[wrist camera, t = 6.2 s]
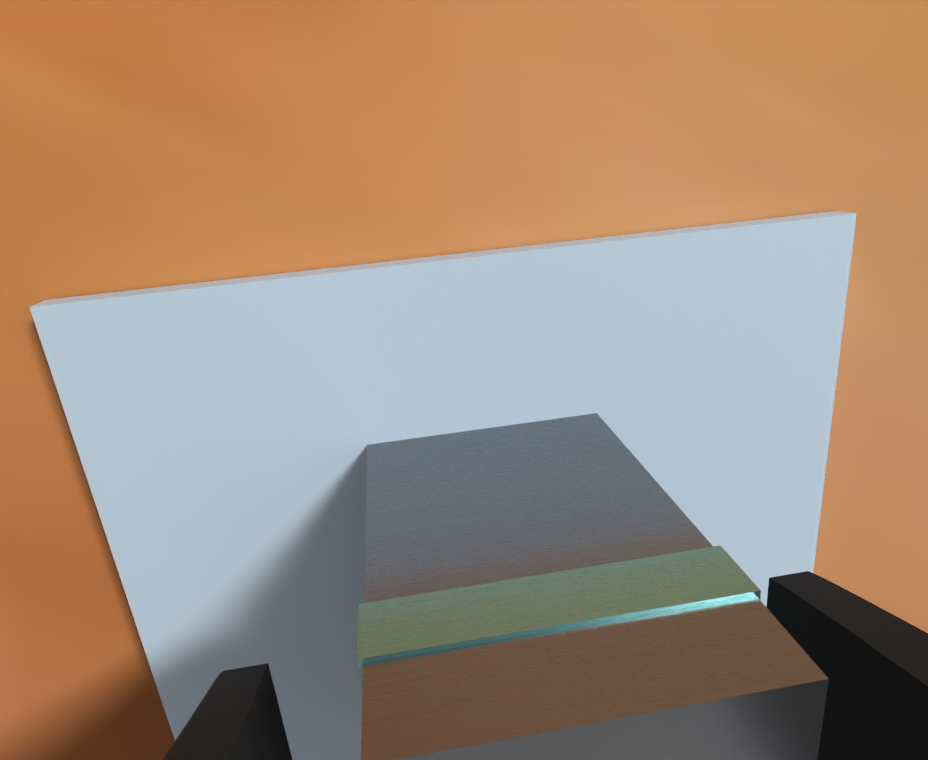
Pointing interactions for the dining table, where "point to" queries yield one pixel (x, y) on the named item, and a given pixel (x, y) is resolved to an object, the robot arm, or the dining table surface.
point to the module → (562, 611)
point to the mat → (431, 422)
